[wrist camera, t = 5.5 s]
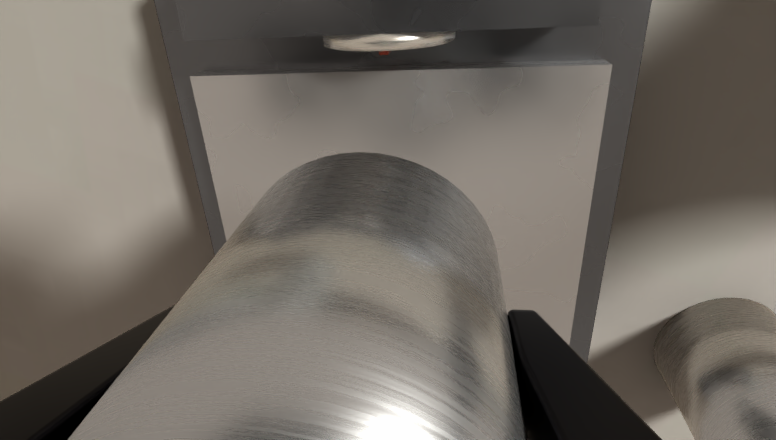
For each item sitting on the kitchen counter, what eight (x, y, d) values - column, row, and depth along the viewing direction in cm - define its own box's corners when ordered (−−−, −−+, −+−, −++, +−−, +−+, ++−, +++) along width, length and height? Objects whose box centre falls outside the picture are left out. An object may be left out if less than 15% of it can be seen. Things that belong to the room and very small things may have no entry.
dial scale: (633, -69, 15) (714, -83, 10) (571, 332, 21) (603, 428, 17) (183, -43, 16) (84, -45, 12) (258, 322, 23) (214, 407, 19)
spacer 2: (800, 299, 20) (931, 423, 14) (763, 392, 22) (864, 529, 17) (666, 296, 20) (744, 414, 15) (643, 387, 22) (704, 518, 17)
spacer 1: (492, 375, 11) (534, 791, 5) (265, 364, 11) (98, 730, 6) (507, 151, 8) (608, 487, 3) (220, 153, 9) (-122, 437, 4)
